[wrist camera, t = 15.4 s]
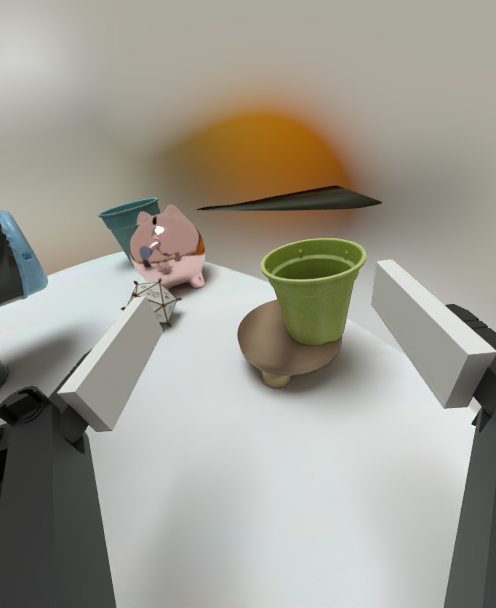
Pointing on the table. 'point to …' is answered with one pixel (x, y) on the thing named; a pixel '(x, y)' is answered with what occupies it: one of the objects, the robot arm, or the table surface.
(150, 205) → the flower pot
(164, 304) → the game die
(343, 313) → the plant pot
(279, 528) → the table surface
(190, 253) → the piggy bank
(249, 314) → the stand
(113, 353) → the robot arm
